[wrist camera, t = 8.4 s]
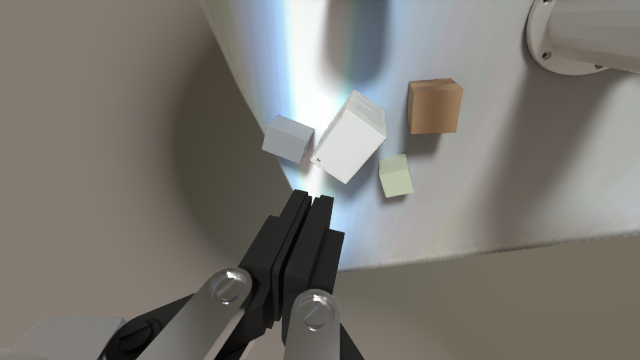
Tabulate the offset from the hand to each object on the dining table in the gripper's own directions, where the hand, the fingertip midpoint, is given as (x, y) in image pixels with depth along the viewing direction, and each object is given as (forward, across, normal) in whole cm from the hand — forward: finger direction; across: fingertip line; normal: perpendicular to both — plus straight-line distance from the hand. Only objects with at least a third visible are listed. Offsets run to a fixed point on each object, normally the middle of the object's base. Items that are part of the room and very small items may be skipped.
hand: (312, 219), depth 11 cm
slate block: (+28, +10, +9) cm, 31 cm away
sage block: (+29, -7, +12) cm, 32 cm away
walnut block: (+29, -9, +1) cm, 30 cm away
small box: (+29, +1, +6) cm, 29 cm away
